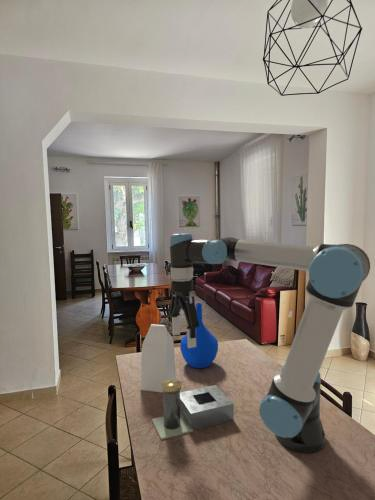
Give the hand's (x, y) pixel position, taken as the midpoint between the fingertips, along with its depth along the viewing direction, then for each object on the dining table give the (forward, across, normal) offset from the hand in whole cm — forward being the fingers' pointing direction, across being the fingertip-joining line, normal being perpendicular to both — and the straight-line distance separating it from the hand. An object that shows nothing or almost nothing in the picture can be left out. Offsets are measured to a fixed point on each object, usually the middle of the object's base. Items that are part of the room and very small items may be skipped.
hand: (183, 340), depth 113 cm
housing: (+28, 0, -8) cm, 29 cm away
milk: (+28, +28, 0) cm, 40 cm away
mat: (+28, -1, +6) cm, 29 cm away
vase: (+28, +39, -24) cm, 54 cm away
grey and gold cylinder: (+28, -1, +6) cm, 28 cm away
